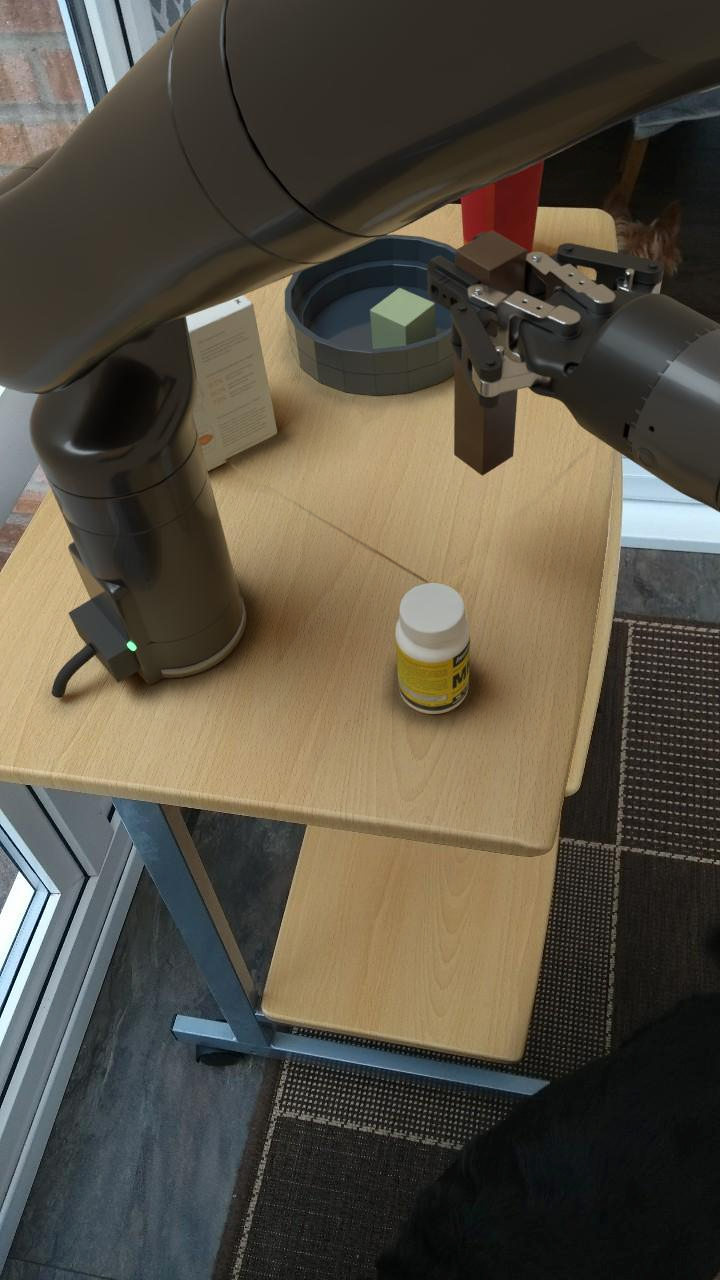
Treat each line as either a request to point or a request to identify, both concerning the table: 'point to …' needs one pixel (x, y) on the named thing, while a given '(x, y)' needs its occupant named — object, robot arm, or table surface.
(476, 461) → the stick
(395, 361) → the bowl
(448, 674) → the supplement bottle
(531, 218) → the coffee cup
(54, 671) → the table surface
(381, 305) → the block
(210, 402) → the small box
